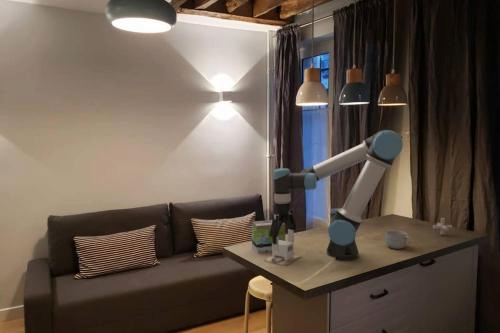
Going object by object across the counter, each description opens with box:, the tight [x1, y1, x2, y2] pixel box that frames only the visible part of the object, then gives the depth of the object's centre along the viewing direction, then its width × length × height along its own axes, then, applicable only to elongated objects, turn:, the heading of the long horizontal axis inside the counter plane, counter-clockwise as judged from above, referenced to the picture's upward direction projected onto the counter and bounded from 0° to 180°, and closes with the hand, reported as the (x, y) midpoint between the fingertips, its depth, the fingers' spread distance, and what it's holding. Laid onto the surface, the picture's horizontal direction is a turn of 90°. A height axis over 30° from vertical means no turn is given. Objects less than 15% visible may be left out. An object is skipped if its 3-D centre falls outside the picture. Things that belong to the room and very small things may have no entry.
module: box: [271, 240, 295, 261], centre depth 182 cm, size 8×6×7 cm
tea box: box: [251, 219, 286, 254], centre depth 198 cm, size 15×10×15 cm
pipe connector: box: [432, 217, 453, 235], centre depth 218 cm, size 10×10×10 cm
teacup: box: [384, 229, 412, 250], centre depth 198 cm, size 14×11×8 cm
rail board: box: [263, 251, 302, 267], centre depth 182 cm, size 12×14×3 cm
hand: (283, 246), depth 182 cm, fingers open, 13 cm apart
